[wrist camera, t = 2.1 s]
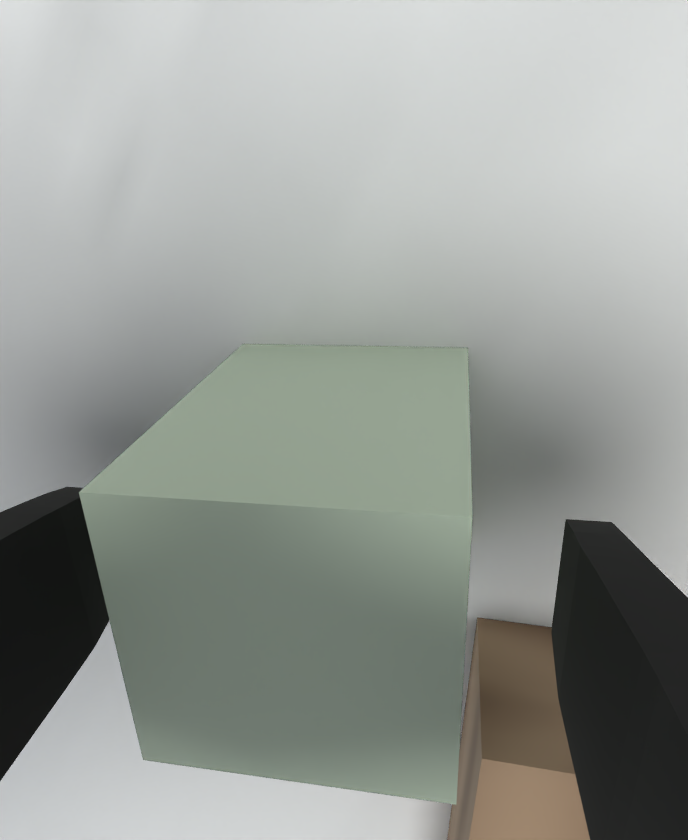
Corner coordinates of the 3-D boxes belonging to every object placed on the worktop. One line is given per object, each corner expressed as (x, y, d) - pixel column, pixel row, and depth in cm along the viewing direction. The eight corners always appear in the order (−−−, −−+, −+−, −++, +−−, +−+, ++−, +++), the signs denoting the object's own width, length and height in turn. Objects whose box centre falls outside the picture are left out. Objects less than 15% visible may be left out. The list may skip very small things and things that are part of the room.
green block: (263, 529, 14) (143, 760, 9) (243, 343, 13) (79, 492, 7) (458, 543, 14) (455, 804, 8) (467, 346, 12) (471, 517, 6)
